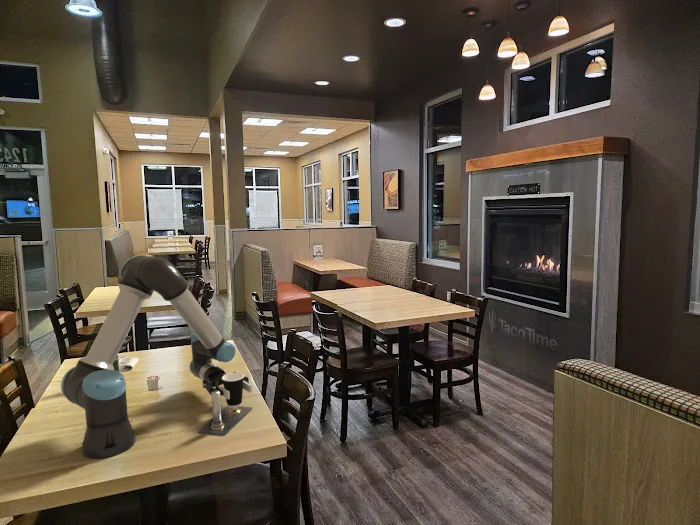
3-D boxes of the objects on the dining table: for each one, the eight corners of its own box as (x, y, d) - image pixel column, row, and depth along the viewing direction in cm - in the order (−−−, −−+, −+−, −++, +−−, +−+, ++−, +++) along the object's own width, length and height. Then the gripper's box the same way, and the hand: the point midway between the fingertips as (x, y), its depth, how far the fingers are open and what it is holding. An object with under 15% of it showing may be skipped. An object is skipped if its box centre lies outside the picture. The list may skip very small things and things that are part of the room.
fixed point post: (219, 428, 155) (217, 394, 154) (210, 427, 156) (208, 393, 154) (225, 423, 158) (223, 390, 157) (215, 422, 159) (213, 389, 158)
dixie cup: (246, 399, 173) (244, 371, 172) (245, 408, 165) (243, 379, 164) (224, 401, 172) (222, 373, 170) (222, 411, 164) (220, 381, 163)
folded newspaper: (131, 373, 213) (96, 376, 210) (140, 360, 231) (109, 363, 228) (130, 366, 213) (96, 369, 210) (140, 354, 230) (108, 356, 227)
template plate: (224, 435, 152) (224, 432, 152) (198, 432, 155) (198, 429, 155) (252, 409, 171) (252, 407, 171) (228, 407, 174) (227, 404, 174)
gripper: (237, 377, 188) (265, 394, 171) (187, 391, 175) (212, 411, 158) (236, 359, 187) (264, 374, 170) (186, 372, 174) (211, 390, 157)
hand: (239, 392), depth 164 cm, fingers closed on dixie cup, 8 cm apart
